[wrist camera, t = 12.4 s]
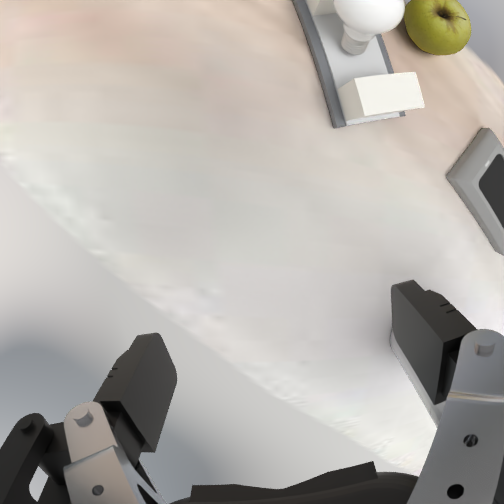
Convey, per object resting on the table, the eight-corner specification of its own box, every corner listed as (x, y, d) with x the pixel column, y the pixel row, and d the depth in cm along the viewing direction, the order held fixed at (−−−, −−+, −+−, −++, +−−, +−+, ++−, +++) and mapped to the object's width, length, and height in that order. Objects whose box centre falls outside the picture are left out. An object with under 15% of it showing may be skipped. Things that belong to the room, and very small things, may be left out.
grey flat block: (508, 258, 34) (459, 180, 31) (493, 250, 37) (443, 176, 34) (540, 210, 31) (496, 128, 28) (525, 204, 35) (480, 128, 32)
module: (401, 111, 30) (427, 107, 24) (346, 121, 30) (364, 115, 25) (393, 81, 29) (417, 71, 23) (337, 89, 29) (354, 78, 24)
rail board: (399, 116, 32) (407, 115, 30) (333, 128, 32) (338, 127, 31) (357, -10, 27) (361, -17, 25) (290, -4, 27) (292, -12, 26)
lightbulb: (312, 52, 28) (324, -22, 17) (338, 19, 27) (354, -50, 16) (367, 82, 27) (401, 15, 16) (389, 47, 27) (422, -17, 16)
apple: (459, 25, 26) (497, 20, 18) (434, 66, 30) (468, 70, 22) (411, -13, 25) (439, -31, 17) (384, 29, 29) (407, 19, 21)
